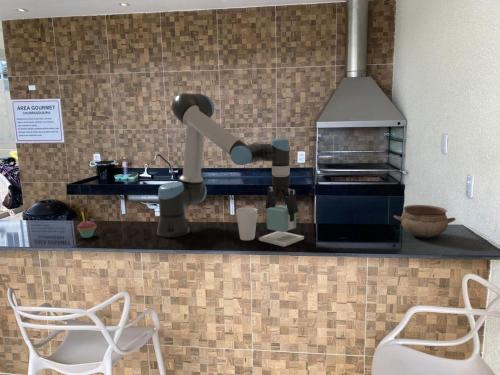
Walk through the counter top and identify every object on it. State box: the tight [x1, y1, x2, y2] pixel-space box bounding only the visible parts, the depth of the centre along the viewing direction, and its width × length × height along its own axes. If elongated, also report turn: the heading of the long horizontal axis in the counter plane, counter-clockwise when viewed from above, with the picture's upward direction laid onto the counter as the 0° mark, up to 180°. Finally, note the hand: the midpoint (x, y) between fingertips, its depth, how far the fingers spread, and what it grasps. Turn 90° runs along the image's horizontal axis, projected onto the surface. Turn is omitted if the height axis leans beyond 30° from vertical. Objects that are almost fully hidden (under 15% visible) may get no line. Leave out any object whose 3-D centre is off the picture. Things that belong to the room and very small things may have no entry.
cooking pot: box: [393, 204, 457, 240], centre depth 176 cm, size 25×19×12 cm
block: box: [266, 204, 297, 232], centre depth 175 cm, size 9×9×9 cm
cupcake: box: [76, 212, 98, 239], centre depth 187 cm, size 9×8×12 cm
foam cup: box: [235, 207, 259, 241], centre depth 179 cm, size 10×9×13 cm
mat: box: [258, 231, 305, 248], centre depth 177 cm, size 14×14×1 cm
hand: (281, 226), depth 176 cm, fingers closed on block, 9 cm apart
